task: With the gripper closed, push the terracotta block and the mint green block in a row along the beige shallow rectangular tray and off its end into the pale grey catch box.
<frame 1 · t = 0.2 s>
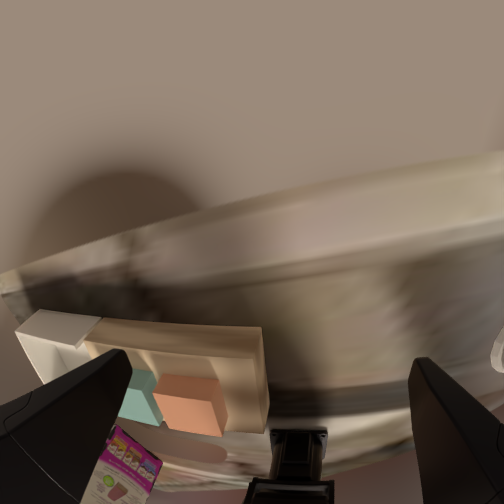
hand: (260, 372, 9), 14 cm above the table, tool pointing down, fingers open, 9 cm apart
candy bar box: (132, 443, 40), on the table
catch box: (82, 348, 32), on the table
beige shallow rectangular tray: (185, 364, 29), on the table
terracotta block: (196, 396, 25), point 4 cm above the table, touching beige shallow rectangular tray
mint green block: (137, 386, 26), point 4 cm above the table, touching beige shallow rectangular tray
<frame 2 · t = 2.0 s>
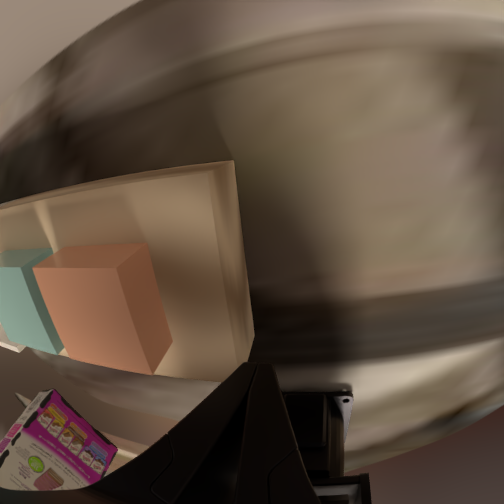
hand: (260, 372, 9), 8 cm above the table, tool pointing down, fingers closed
candy bar box: (79, 420, 29), on the table
catch box: (3, 262, 20), on the table
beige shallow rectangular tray: (117, 260, 18), on the table
terracotta block: (115, 294, 14), point 4 cm above the table, touching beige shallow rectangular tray
mint green block: (39, 289, 15), point 4 cm above the table, touching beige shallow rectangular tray
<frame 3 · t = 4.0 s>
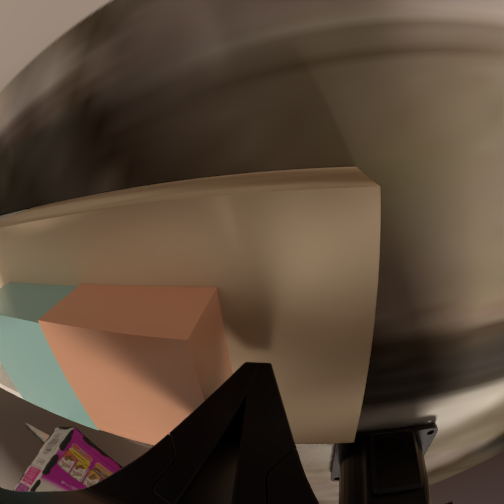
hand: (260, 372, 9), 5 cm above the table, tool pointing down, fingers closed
candy bar box: (103, 457, 25), on the table
catch box: (8, 287, 17), on the table
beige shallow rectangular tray: (173, 294, 14), on the table
terracotta block: (159, 350, 10), point 4 cm above the table, touching gripper, mint green block
mint green block: (61, 336, 11), point 4 cm above the table, touching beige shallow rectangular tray, terracotta block
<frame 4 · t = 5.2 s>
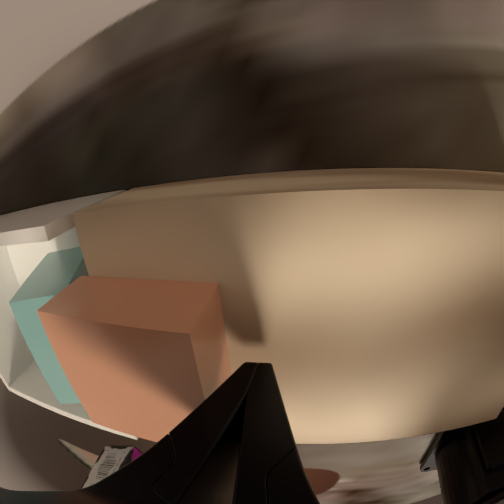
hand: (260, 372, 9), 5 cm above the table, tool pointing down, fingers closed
candy bar box: (159, 474, 23), on the table
catch box: (72, 290, 15), on the table
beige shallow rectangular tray: (334, 292, 12), on the table
terracotta block: (157, 344, 10), point 4 cm above the table, touching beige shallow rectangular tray, gripper
mint green block: (96, 318, 12), point 3 cm above the table, tilted 63°, touching catch box
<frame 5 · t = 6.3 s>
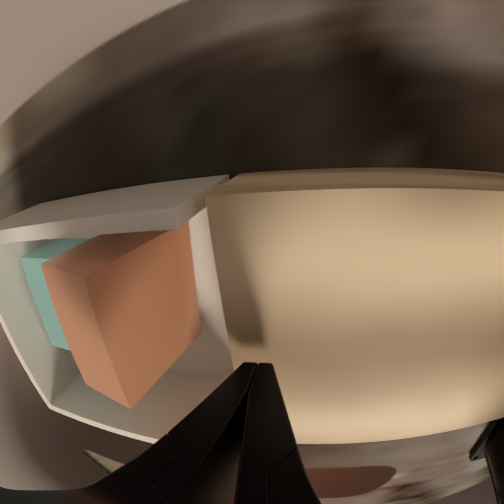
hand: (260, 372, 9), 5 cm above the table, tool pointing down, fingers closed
catch box: (137, 291, 14), on the table
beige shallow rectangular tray: (437, 287, 11), on the table
terracotta block: (157, 312, 10), point 3 cm above the table, tilted 102°, touching catch box
mint green block: (68, 310, 12), point 3 cm above the table, tilted 180°, touching catch box
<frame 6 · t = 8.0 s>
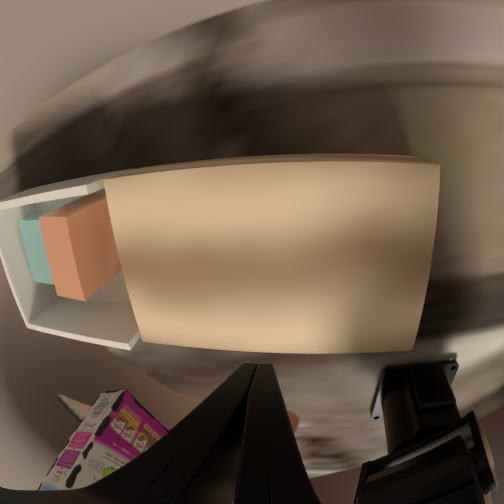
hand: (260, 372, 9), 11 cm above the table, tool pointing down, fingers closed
candy bar box: (146, 421, 29), on the table
catch box: (88, 244, 21), on the table
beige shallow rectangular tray: (275, 241, 18), on the table
terracotta block: (100, 244, 17), point 3 cm above the table, tilted 90°, touching catch box
mint green block: (44, 253, 18), point 3 cm above the table, tilted 180°, touching catch box
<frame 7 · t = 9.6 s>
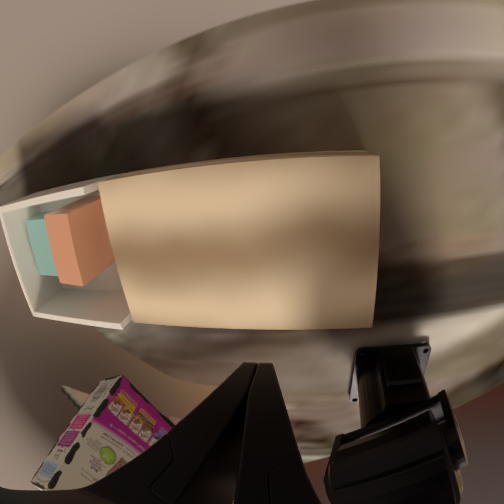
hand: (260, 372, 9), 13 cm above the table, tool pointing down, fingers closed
candy bar box: (142, 407, 32), on the table
catch box: (88, 240, 24), on the table
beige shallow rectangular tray: (246, 231, 21), on the table
terracotta block: (96, 238, 20), point 3 cm above the table, tilted 90°, touching catch box
mint green block: (49, 248, 21), point 3 cm above the table, tilted 180°, touching catch box
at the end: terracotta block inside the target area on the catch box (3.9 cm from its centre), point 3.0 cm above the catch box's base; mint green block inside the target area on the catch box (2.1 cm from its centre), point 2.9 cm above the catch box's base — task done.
